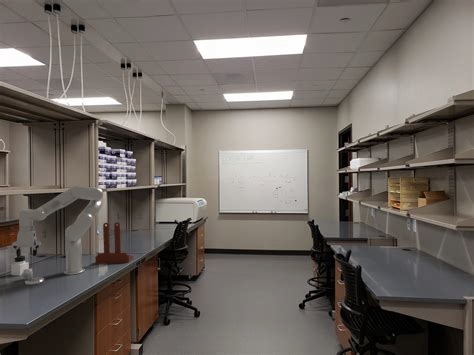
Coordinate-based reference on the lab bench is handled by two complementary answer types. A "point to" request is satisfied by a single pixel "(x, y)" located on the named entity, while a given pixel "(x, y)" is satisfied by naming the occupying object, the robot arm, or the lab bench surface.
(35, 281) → the shallow grey dish
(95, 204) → the robot arm
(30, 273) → the white light bulb
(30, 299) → the lab bench surface
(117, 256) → the twin post bracket
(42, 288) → the lab bench surface
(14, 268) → the medicine bottle
